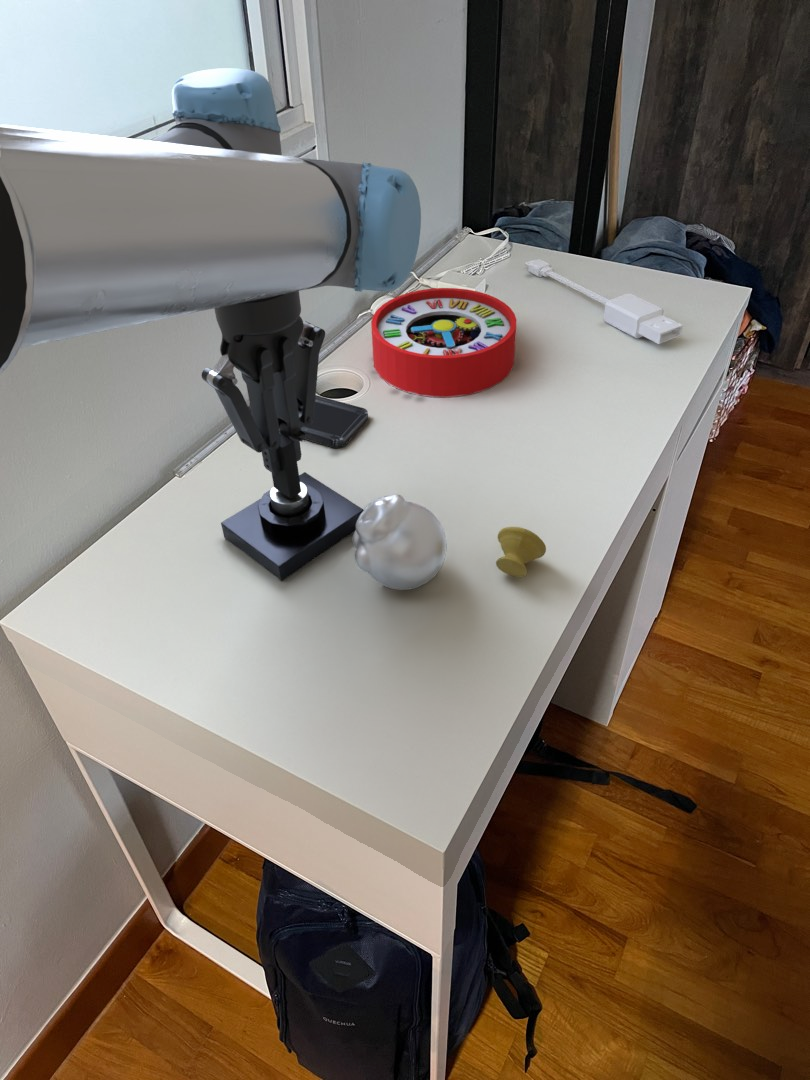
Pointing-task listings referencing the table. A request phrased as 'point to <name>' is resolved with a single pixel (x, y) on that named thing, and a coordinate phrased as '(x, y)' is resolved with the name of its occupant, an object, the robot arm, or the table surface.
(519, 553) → the knob
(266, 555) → the panel
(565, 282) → the charging cable
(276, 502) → the stove button
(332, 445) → the phone
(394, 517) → the ghost figurine
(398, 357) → the toy clock
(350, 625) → the table surface
